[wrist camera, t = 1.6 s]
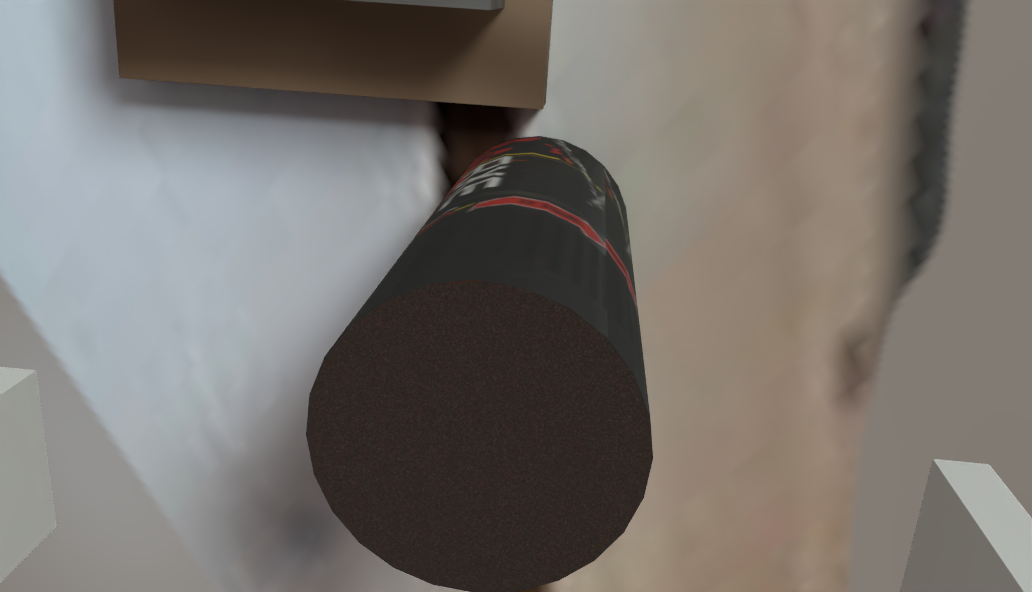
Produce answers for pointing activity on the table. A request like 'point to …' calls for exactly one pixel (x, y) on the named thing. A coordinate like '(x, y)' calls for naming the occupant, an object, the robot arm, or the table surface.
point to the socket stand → (345, 47)
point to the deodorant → (494, 382)
